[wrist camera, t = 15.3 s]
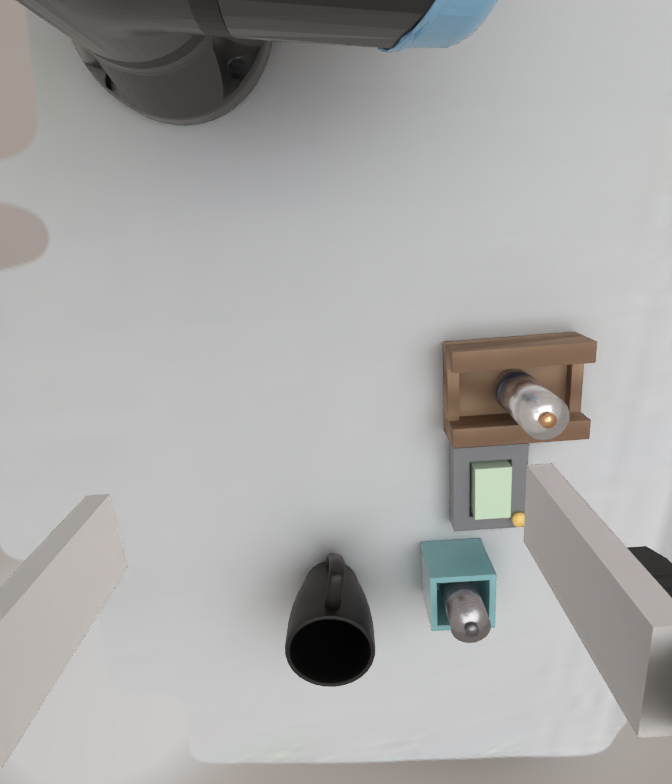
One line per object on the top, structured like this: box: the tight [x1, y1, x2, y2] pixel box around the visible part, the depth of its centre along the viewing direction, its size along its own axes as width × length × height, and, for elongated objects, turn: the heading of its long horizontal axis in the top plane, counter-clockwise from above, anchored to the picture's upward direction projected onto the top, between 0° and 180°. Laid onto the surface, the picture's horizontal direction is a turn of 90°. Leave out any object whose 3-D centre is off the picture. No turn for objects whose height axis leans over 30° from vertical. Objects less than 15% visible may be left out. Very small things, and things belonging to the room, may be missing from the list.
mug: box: [285, 553, 375, 686], centre depth 50 cm, size 8×12×10 cm
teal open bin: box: [421, 538, 496, 631], centre depth 51 cm, size 6×6×6 cm
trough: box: [443, 332, 597, 448], centre depth 46 cm, size 9×12×4 cm
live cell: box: [493, 369, 570, 440], centre depth 42 cm, size 4×4×9 cm
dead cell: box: [438, 581, 491, 643], centre depth 49 cm, size 4×4×9 cm
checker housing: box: [449, 441, 529, 531], centre depth 49 cm, size 9×7×3 cm
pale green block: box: [471, 460, 512, 520], centre depth 49 cm, size 5×3×2 cm, turn 5°
